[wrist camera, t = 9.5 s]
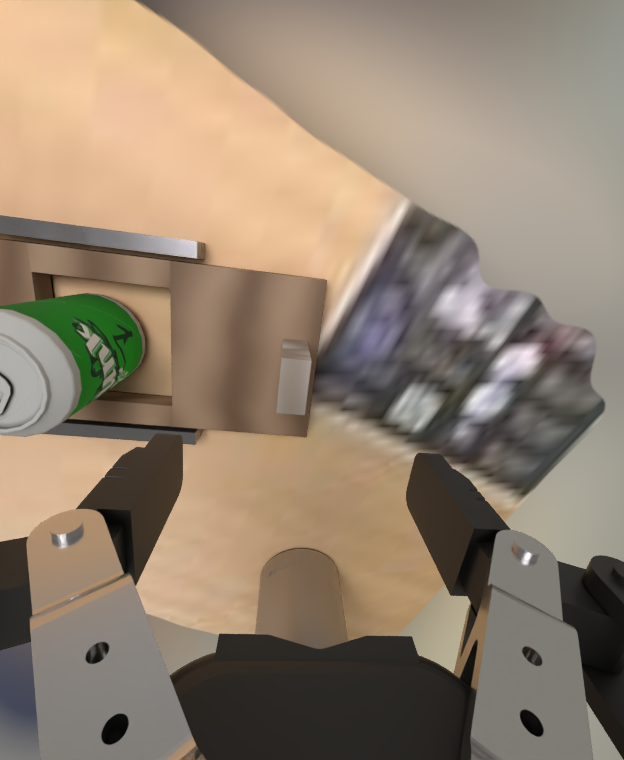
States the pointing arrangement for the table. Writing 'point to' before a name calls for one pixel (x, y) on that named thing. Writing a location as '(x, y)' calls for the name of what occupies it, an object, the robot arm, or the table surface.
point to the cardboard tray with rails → (200, 337)
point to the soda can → (62, 358)
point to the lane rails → (121, 242)
